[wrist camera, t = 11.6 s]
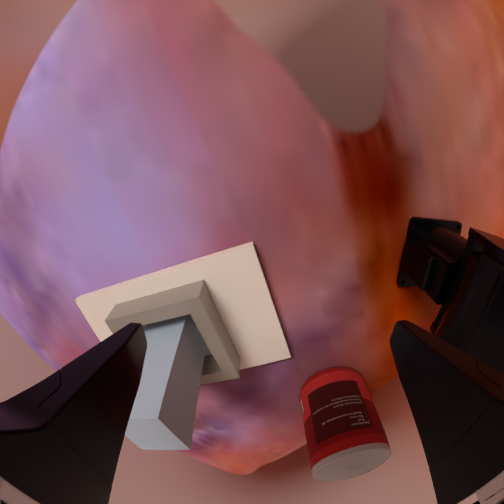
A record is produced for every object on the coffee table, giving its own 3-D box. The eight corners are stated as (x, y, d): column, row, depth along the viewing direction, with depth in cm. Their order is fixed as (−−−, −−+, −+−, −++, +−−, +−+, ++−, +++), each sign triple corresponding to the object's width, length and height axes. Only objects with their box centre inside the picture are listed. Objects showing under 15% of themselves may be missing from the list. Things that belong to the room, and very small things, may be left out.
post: (188, 311, 23) (157, 418, 13) (206, 345, 24) (190, 449, 14) (149, 320, 23) (107, 418, 13) (169, 352, 25) (141, 449, 15)
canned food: (331, 411, 30) (348, 482, 20) (283, 395, 29) (294, 479, 18) (375, 376, 28) (406, 450, 18) (330, 355, 26) (359, 444, 16)
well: (252, 241, 21) (253, 259, 18) (290, 351, 26) (294, 376, 23) (78, 296, 23) (62, 315, 20) (135, 380, 28) (127, 402, 25)
